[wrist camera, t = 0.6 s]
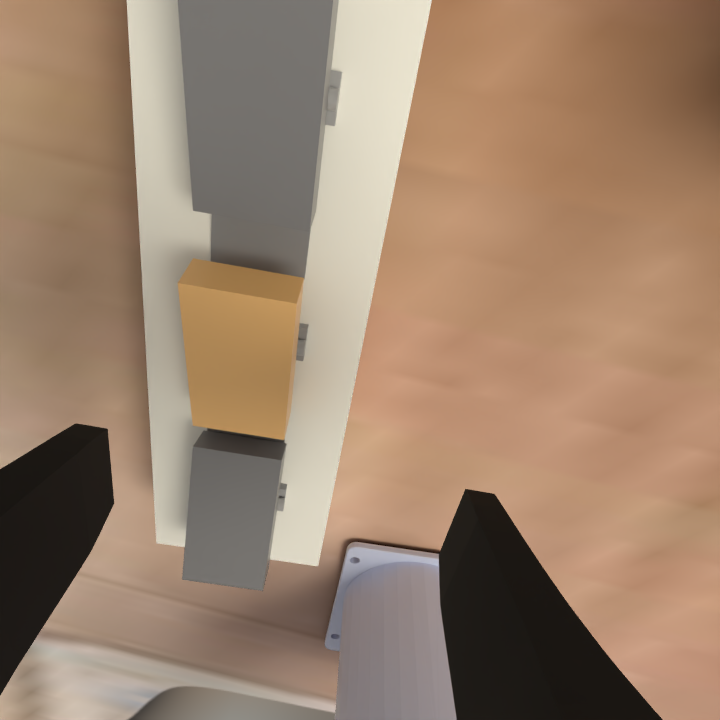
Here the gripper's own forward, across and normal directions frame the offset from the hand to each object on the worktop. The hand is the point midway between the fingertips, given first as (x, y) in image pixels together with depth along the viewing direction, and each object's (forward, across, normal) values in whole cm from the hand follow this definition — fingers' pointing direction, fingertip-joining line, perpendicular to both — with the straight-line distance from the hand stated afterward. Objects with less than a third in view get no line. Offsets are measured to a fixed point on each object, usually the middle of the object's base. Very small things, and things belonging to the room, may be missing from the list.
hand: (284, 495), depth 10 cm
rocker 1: (+6, +2, -7) cm, 10 cm away
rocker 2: (+6, +2, +7) cm, 10 cm away
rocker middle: (+6, +2, 0) cm, 7 cm away
